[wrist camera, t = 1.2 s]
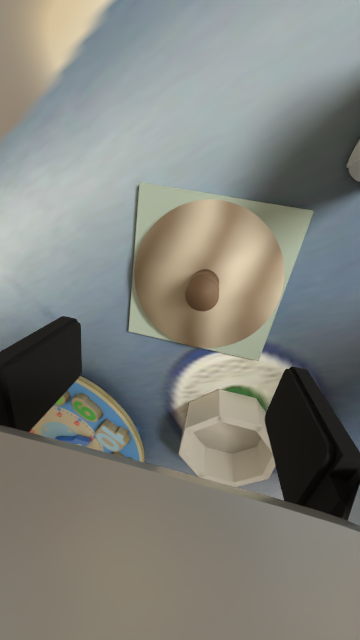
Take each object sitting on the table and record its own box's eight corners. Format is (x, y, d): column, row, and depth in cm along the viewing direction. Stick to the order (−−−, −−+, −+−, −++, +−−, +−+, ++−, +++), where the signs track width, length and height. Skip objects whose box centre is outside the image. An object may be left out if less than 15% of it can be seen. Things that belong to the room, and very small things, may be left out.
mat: (311, 211, 22) (314, 210, 22) (257, 358, 30) (258, 361, 29) (141, 183, 24) (139, 182, 23) (130, 329, 31) (128, 331, 31)
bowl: (282, 404, 32) (293, 433, 27) (255, 461, 37) (260, 494, 32) (193, 382, 33) (189, 407, 28) (179, 441, 38) (174, 470, 34)
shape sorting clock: (31, 324, 34) (-5, 343, 29) (183, 433, 38) (177, 468, 32) (-18, 423, 46) (-50, 449, 41) (100, 498, 50) (86, 531, 45)
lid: (306, 215, 22) (335, 211, 16) (255, 356, 29) (264, 386, 23) (143, 188, 23) (120, 176, 18) (132, 328, 30) (113, 351, 25)
